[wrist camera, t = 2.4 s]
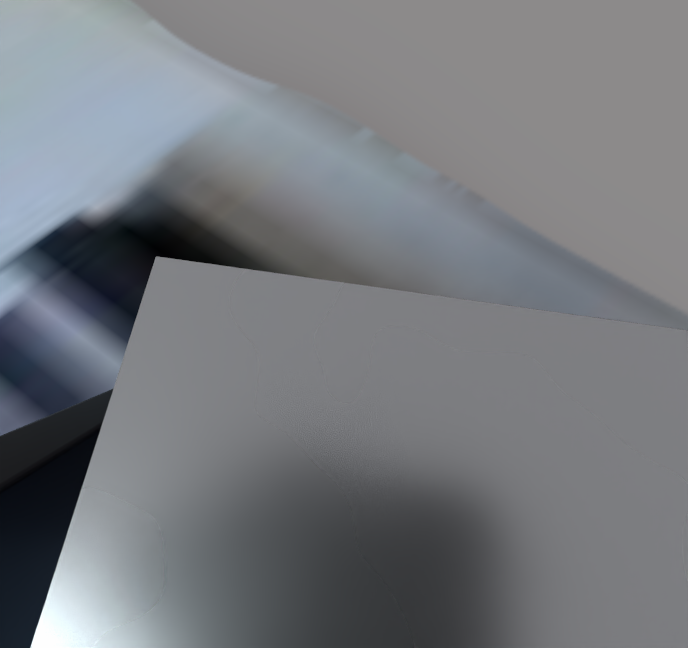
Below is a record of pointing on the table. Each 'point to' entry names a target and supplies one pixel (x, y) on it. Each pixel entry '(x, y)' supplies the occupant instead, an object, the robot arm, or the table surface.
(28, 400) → the table surface
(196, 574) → the gray block
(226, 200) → the table surface
